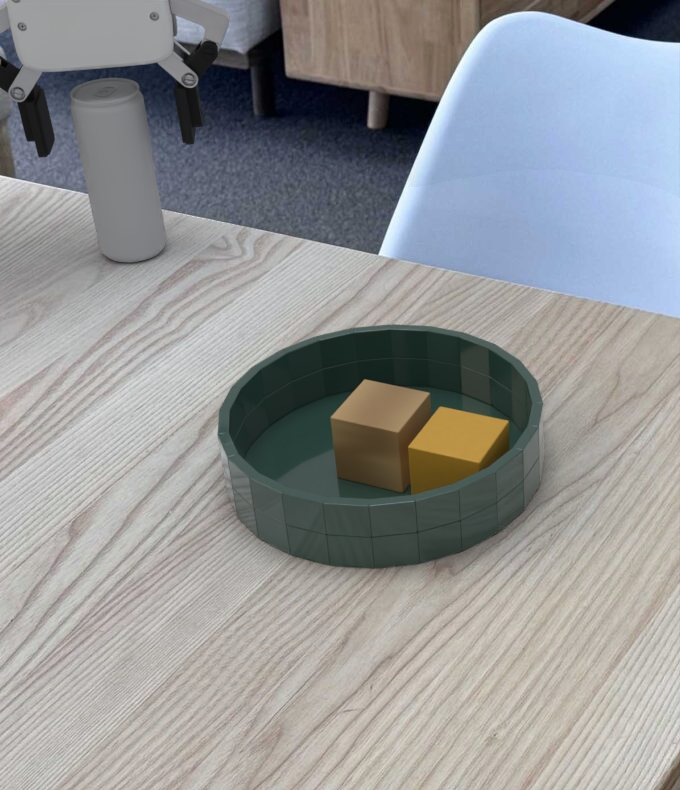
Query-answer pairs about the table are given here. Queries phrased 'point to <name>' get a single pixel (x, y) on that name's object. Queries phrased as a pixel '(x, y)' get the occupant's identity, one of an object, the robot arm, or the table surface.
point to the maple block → (378, 433)
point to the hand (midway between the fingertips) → (118, 143)
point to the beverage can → (119, 168)
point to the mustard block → (455, 448)
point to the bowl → (360, 501)
